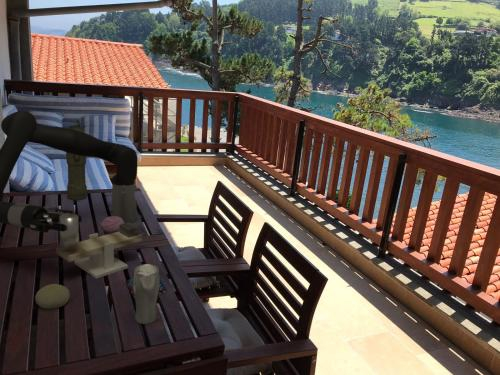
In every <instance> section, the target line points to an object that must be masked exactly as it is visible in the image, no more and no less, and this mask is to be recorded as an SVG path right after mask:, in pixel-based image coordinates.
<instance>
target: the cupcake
mask: <svg viewBox="0 0 500 375" xmlns="http://www.w3.org/2000/svg"><path fill="white" fill-rule="evenodd" d="M120 224H124V221H123V219H122V218H120V217H118V216H106V217H105V218H104V219H103V220H102V221H101V222H100V229H101V231H103V232H102V233H103V236H104V235H108V234H111V233H115V232H119V225H120Z"/></svg>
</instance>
